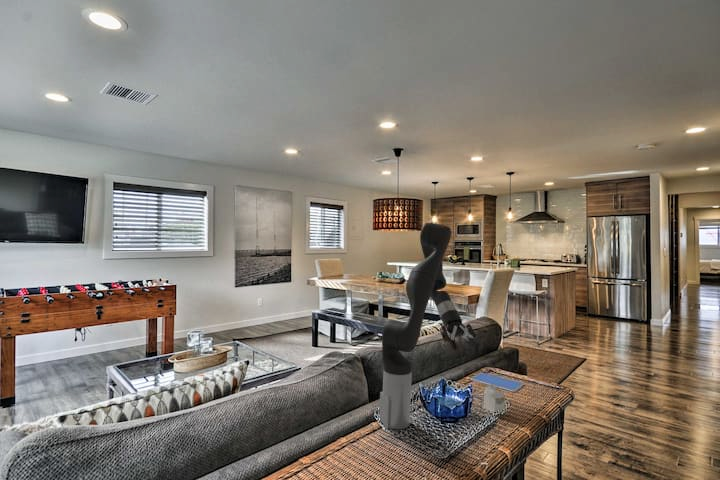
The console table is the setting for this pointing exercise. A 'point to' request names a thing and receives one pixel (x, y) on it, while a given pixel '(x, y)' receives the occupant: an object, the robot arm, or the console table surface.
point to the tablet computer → (498, 382)
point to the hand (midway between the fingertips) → (465, 349)
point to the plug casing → (494, 398)
